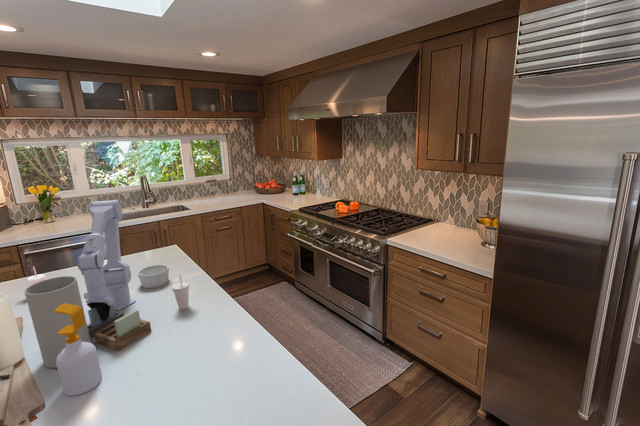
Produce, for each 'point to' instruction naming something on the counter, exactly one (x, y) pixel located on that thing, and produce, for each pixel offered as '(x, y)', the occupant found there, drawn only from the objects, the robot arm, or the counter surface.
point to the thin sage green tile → (127, 323)
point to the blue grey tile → (96, 318)
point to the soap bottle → (77, 356)
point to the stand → (104, 324)
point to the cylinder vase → (53, 314)
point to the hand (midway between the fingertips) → (103, 319)
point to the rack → (110, 340)
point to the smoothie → (181, 294)
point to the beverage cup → (36, 278)
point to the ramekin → (154, 276)
